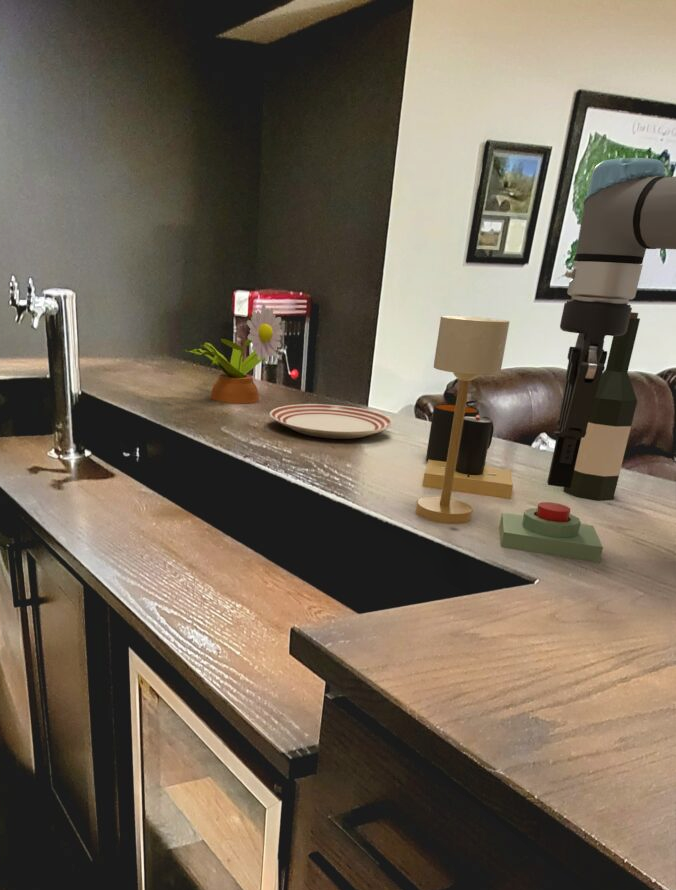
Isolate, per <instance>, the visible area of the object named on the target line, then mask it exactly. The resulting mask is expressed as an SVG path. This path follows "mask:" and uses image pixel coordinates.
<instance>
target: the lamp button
mask: <svg viewBox="0 0 676 890" xmlns="http://www.w3.org/2000/svg"><path fill="white" fill-rule="evenodd" d="M536 508H537V513H536V516H537V517H539V518H541V519H545V520H548V521H554V522H568V519H569V514H571V508H570V507H569V506H567V505H565V504H562V503H557V502H550V501H547V502H546V501H544V502H543V501H542V502H539V503H538V504H537V507H536Z"/></svg>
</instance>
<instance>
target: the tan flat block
mask: <svg viewBox="0 0 676 890" xmlns="http://www.w3.org/2000/svg"><path fill="white" fill-rule="evenodd" d="M445 468H446V462H443V461H435V460H427V464H426V467H425V470H424V473H423V474H424V475H423V481H422V488H428V489H436V490H442V487H443V480H444V474H445ZM513 487H514V483H513V476H512V471H511V469H505V468H497V467H489V466H485V467H484V472H483V474H481V475H468V474H463V473H459V472H457V471H455V475H454V481H453V487H452V492H456V493H463V494H471V495H479V496H485V497H491V498H499V499H506V500H511V497H512V493H513Z"/></svg>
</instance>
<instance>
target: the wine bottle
mask: <svg viewBox="0 0 676 890" xmlns="http://www.w3.org/2000/svg"><path fill="white" fill-rule="evenodd" d="M638 316H639V312H633V311H631V315H630V319H629V323H628V328H627V332H626V333H625V334H624V335H622V336H612V339H611V340H612V341H611V345H610V348H609V353H608V356H607V360H606V366H605V369H604V371H603V373H602V376H601V378H600V381H599V384H598V388H597V392H596V396H595V399H594V403H593V407H592V410H591V414H590V418H589V422H588V425H587V429H586V435H585V437H584V438H581V442H580V446H579V451H578V455H577V460H576V464H575V469H574V473H573V478H572V482H571V487H570V488H567V487H563V492H564V493H567V494H569V495H570V496H571V495H572V496H574V497H576V498H579V499H586V500H587V499H588V500H591V501H593V500H594V501H611V500H612V501H613V500H614V498H615V495H616V489H617V485H618V481H619V477H620V474H621V469H622V465H623V461H624V458H625V457H624V456H625V452H626V449H627V445H628V441H629V437H630V433H631V429H632V426H633V425H632V424H633V420H634V418H635V417H634V416H635V412H636V408H637V405H638V398H637V395H636V393H635V390H634V387H633V384H632V381H631V377H630V375H629V373H628V371H629V367H630V363H631V359H632V355H633V351H634V346H635V342H636V338H637V334H638V330H639V326H640V321H641V318H639V317H638Z"/></svg>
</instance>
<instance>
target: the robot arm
mask: <svg viewBox="0 0 676 890" xmlns="http://www.w3.org/2000/svg"><path fill="white" fill-rule="evenodd" d="M581 214H582V215H581V220H580V225H579V233H578V240H577V245H576V251H575V254H574V258H573V263H572V268H573V269H566V271H565V275H564V276H565V278H567V279H570V280H569V282H568V287H567V291H566V293H567V295H568V296H571V298H570V300H566V302H564V304H563V309H562V313H561V318H560V323H559V329H560V330H561V331H563V332H567V333H571V334H572V333H573V334H578V335H577V338H576V342H575V346H569V348H568V352H567V360H568V363H567V367H566V372H565V380H564V381H565V382H564V386H563V387H564V388H563V393H562V399H561V404H560V410H559V415H558V419H557V421H556V425H557V430H556V431H554V432H553V437H555V444H554V449H553V453H552V457H551V462H550V467H549V473H548V477H547V481H546V482H547V486H552V487H559V488H564V487H567V488H570V487H571V482H572V478H573V473H574V469H575V464H576V460H577V455H578V451H579V446H580V442H581V438H584V437H585V435H586V429H587V425H588V422H589V418H590V414H591V410H592V407H593V403H594V399H595V396H596V392H597V388H598V384H599V381H600V378H601V376H602V373H603V372H604V371H605V370H606V366H605V365H606V363H607V359H608V351H607V350H605V349H604V343H605V338H606V337H607V336H609V337H613V336H622V335H624V334H625V333H626V332H627V328H628V323H629V319H630V315H631V312H632V310H633V307H632V306H631V304H629V300H633V299H635V298H636V295H637V290H638V287H639V282H640V279H641V278H640V277H641V274H642V270H643V266H644V265H643V261H644V259H645V255H646V251H647V250H657V249H659V250H676V176H665V165H664V162H663V161H661V160H660V159H656V158H649V157H630V158H628V157H627V158H626V157H619V158H611V159H606V160H603V161H601V162H599V163H598V164H597V165H596V166H595V167H594V168H593V171H592V174H591V177H590V181H589V184H588V188H587V192H586V196H585V198H584V200H583V208H582V213H581Z"/></svg>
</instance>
